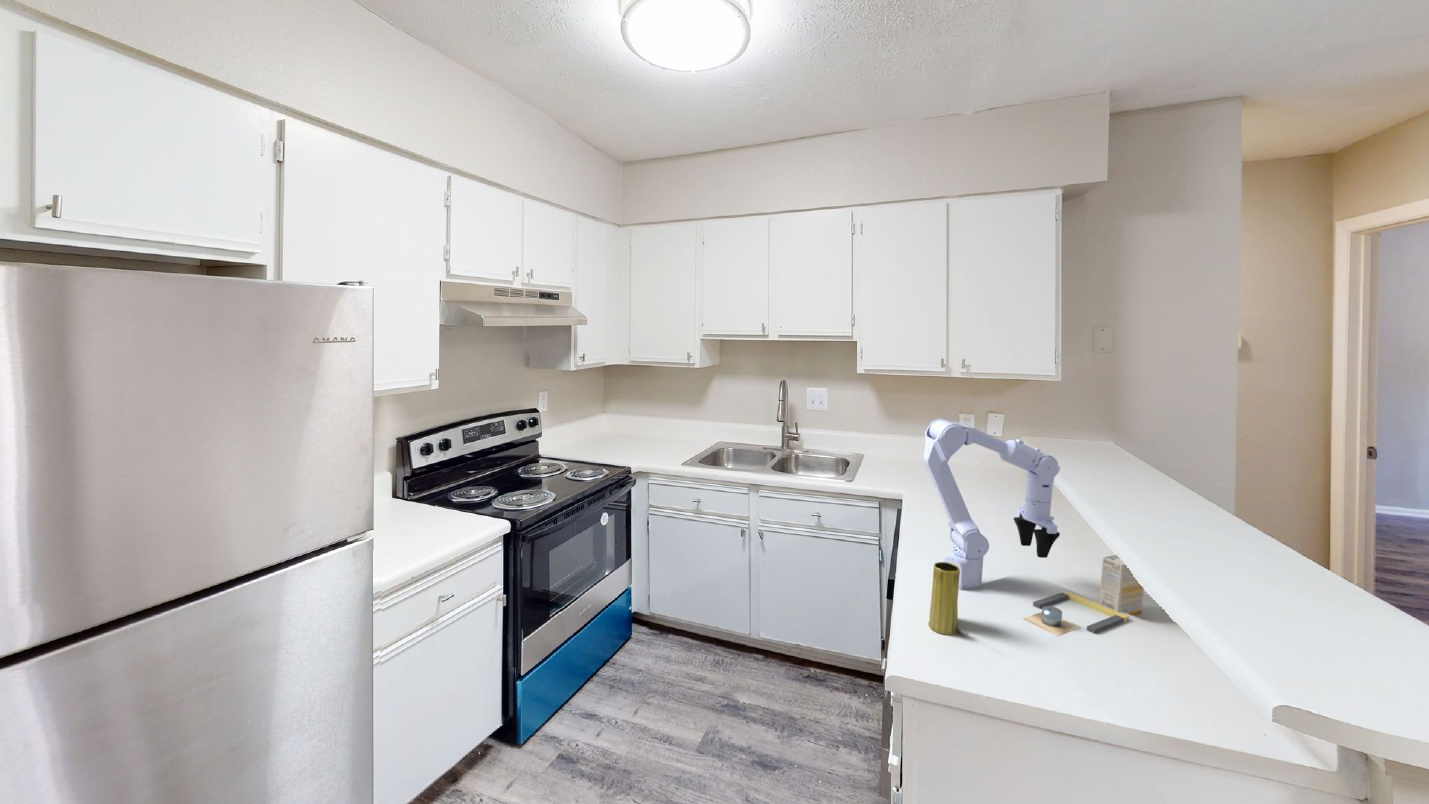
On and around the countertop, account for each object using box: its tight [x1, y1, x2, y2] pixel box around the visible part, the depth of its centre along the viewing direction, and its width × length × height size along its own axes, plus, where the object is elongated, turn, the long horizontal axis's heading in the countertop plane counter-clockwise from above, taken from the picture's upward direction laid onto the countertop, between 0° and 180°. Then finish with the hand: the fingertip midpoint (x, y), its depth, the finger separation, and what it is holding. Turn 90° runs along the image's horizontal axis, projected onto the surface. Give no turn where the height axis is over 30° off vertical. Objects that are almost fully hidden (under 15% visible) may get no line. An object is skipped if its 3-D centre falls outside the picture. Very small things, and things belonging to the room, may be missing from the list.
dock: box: [1032, 590, 1129, 634], centre depth 129 cm, size 13×14×2 cm
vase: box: [928, 561, 960, 636], centre depth 124 cm, size 6×6×14 cm
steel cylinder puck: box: [1041, 605, 1063, 627], centre depth 124 cm, size 4×4×3 cm
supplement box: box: [1098, 554, 1145, 616], centre depth 132 cm, size 8×5×13 cm, turn 109°
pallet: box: [1022, 611, 1081, 637], centre depth 125 cm, size 8×8×2 cm
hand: (1033, 551), depth 144 cm, fingers open, 7 cm apart
